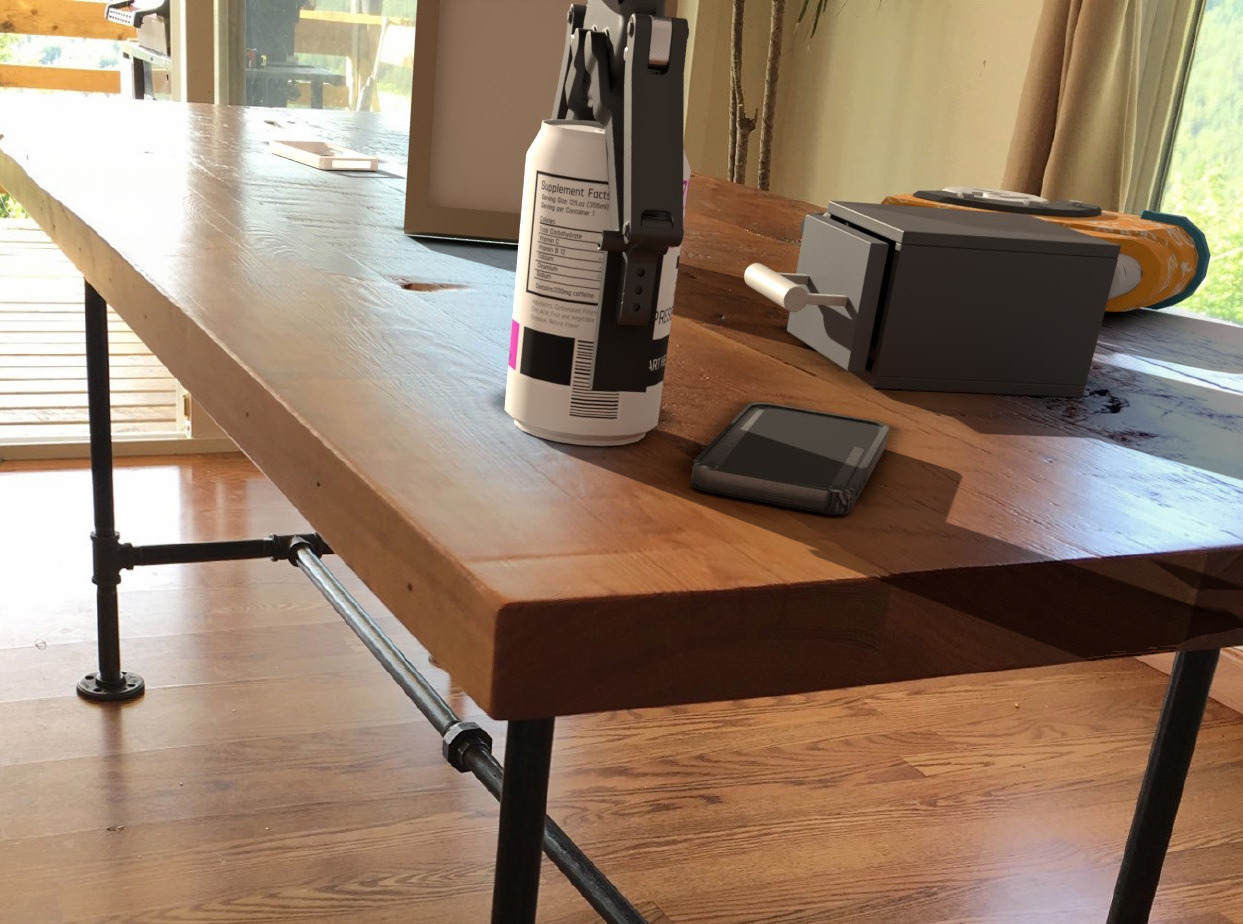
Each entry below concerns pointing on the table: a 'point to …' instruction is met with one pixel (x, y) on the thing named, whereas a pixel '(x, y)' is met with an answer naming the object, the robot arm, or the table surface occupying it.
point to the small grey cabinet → (985, 301)
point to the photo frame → (480, 111)
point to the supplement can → (574, 297)
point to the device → (1150, 244)
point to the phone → (792, 458)
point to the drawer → (833, 289)
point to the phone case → (310, 151)
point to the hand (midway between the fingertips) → (586, 357)
